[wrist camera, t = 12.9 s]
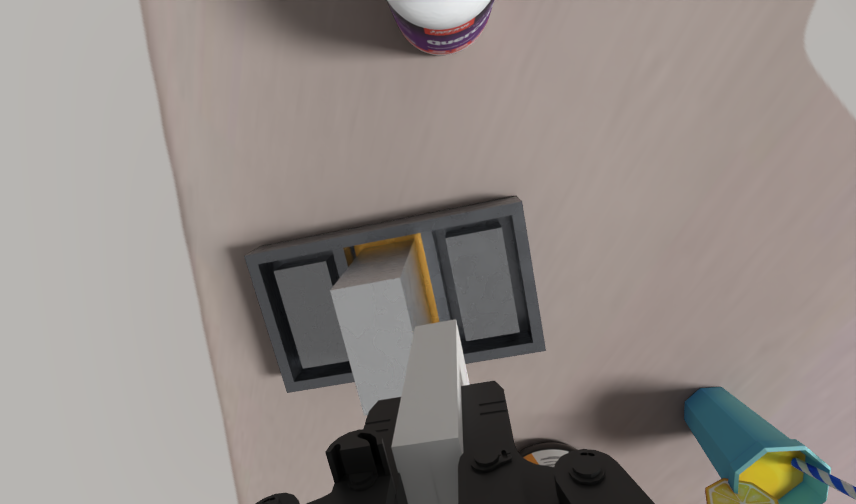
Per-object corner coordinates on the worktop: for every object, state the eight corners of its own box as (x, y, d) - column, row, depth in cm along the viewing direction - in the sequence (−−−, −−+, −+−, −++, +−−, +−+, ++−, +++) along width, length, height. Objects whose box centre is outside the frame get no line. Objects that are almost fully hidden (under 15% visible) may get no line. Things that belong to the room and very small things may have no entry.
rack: (260, 246, 45) (244, 255, 41) (516, 195, 42) (521, 201, 39) (299, 376, 48) (287, 395, 44) (539, 336, 45) (546, 353, 42)
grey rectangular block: (362, 248, 43) (330, 290, 32) (414, 238, 43) (399, 277, 31) (386, 344, 46) (364, 415, 34) (435, 335, 45) (429, 405, 34)
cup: (774, 345, 44) (931, 448, 30) (800, 408, 46) (960, 535, 31) (637, 402, 47) (720, 523, 32) (665, 461, 48) (757, 601, 34)
